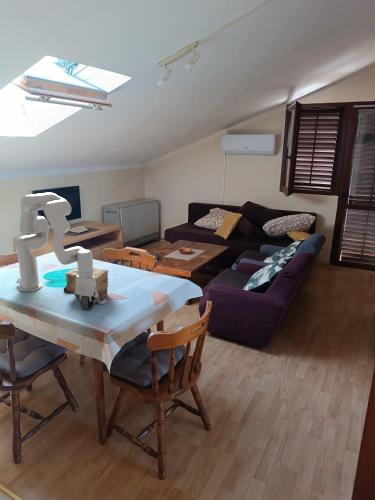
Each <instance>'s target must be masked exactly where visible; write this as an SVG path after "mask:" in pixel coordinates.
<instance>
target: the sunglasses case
mask: <svg viewBox="0 0 375 500" xmlns="http://www.w3.org/2000/svg"><path fill="white" fill-rule="evenodd" d="M63 292H64V293H67V294H72V295H75V293H74V292H73V291H67V285H66V286H64V288H63Z"/></svg>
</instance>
